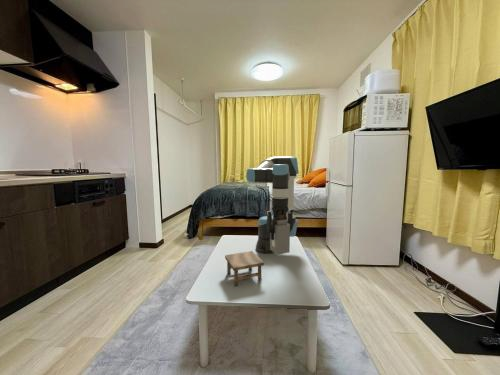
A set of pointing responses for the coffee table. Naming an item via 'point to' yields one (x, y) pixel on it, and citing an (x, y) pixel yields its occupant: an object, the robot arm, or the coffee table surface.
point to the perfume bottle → (281, 236)
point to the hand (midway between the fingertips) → (279, 245)
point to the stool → (243, 264)
